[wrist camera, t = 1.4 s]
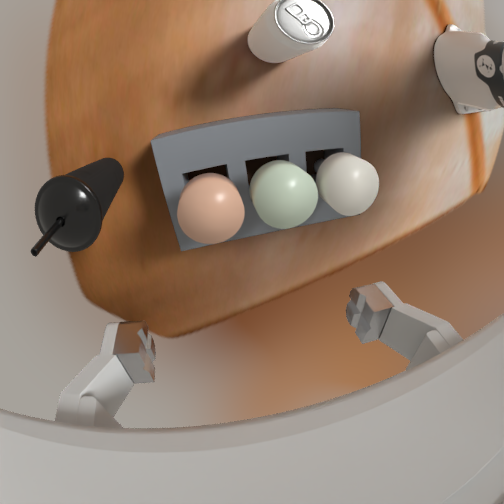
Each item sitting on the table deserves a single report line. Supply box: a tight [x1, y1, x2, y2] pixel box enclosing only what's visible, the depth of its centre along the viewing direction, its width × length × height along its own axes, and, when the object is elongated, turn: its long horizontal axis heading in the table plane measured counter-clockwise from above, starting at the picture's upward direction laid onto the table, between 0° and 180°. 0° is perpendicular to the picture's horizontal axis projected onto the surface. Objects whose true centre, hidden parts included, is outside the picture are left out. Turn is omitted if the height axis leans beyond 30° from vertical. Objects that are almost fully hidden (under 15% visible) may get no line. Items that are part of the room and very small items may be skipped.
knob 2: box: [314, 152, 379, 216], centre depth 28 cm, size 6×6×8 cm
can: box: [248, 0, 334, 63], centre depth 21 cm, size 6×6×12 cm
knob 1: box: [177, 173, 245, 244], centre depth 27 cm, size 6×6×8 cm
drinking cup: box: [31, 158, 124, 256], centre depth 23 cm, size 8×8×20 cm
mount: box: [151, 108, 361, 251], centre depth 33 cm, size 24×14×6 cm, turn 98°
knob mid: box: [249, 160, 318, 229], centre depth 28 cm, size 6×6×8 cm
